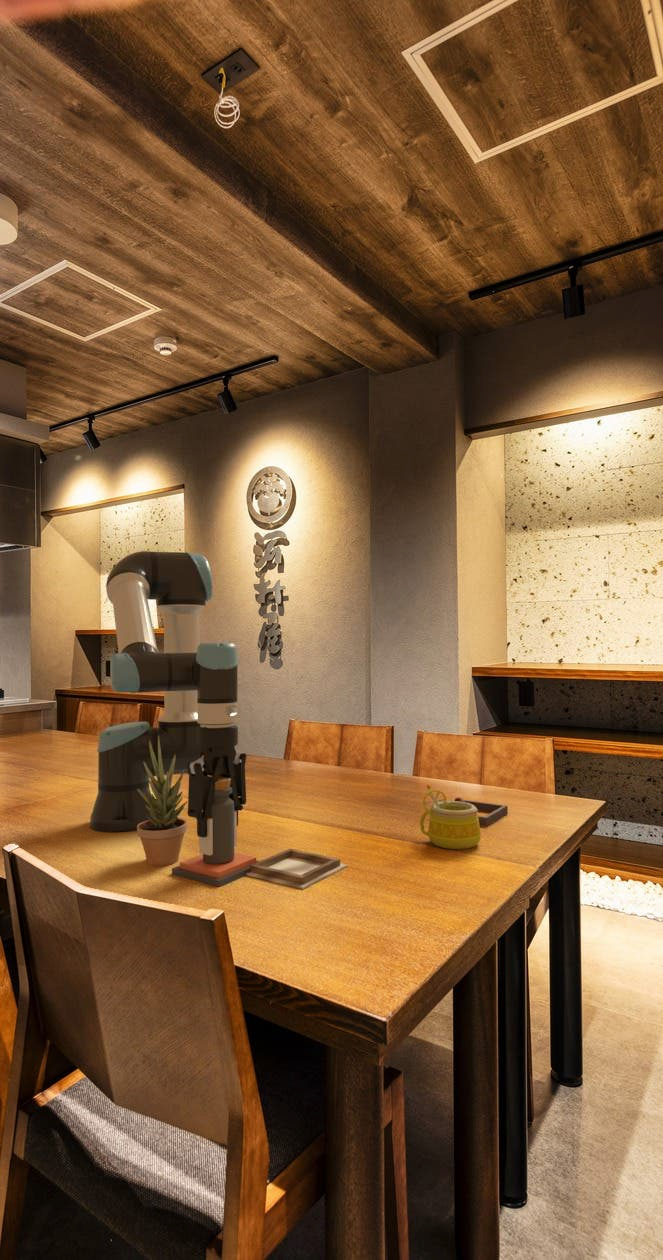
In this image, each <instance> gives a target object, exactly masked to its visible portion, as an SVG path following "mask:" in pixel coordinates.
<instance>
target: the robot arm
mask: <svg viewBox="0 0 663 1260" xmlns="http://www.w3.org/2000/svg"><path fill="white" fill-rule="evenodd" d="M213 585H214V584H213V576H212V569H211V567H210V564H209V561H208V559H207V558H206V557H205V556H204V555H203V554H201V553H192V552H189V551H188V552H187V551H186V552H184V551H183V552H181V551H178V552H177V551H175V552H173V551H172V552H171V551H148V550H146V551H145V550H141V551H136V552H134V553H131V554H128V555H126V556H125V557H123V558H122V559H121V560H119V561H117V563H115V565H114V566H113V567H112V569H111V570H110V572H109V574H108V576H107V580H106V583H105V588H106V596H107V598H108V600H109V602H110V603H111V604H112V608H113V615H114V616H113V617H114V625H115V633H116V634H115V635H116V640H117V650H118V653H116V654H113V655H112V656H111V657H110V670H109V671H110V672H109V673H110V687H111V690H112V691H113V692H115V693H131V694H136V693H139V694H140V693H155V692H164V693H163V695H164V696H163V697H164V699H163V701H164V712H163V714H162V715H160V716H159V717H158V720H157V727H151V725H150V723H149V722H148V721H134V722H133V721H131V722H128V723H121V724H115V725H113V726H109V727H106V728H104V729H102V730H101V731H100V732H99V734H98V742H97V743H98V744H97V749H96V752H97V753H98V756H97V757H98V763H97V764H98V765H97V766H98V769H97V770H98V771H97V772H98V773H97V776H98V777H97V789H98V790H97V795H96V798H95V801H94V805H93V808H92V812H91V813H90V818H89V820H90V821H89V822H90V823H89V825H90V828H92V829H93V830H95V831H101V832H110V833H111V832H113V833H114V832H127V831H128V832H129V831H135V830H136V831H137V825H138V824H140V823H142V822H145V821H148V820H149V818H148V816H149V817H151V818H152V816H151V814H150V811H149V810H148V809H147V808H146V805H147V806H148V807H149V808H150V805H149V804H148V803H147V802H146V801H145V800H144V798H143V797H142V796H141V795H140V793H139V792H138V789H139V790H140V791H141V792H142V793H143V792H145V793H146V794H147V795H149V796H151V797H152V793H151V789H150V788H151V787H150V783H149V780H150V778H149V776H148V774H147V772H146V769H145V766H144V762H145V764H146V765H147V767H148V769H149V770H150V772H151V773H152V775H153V776H154V777H156V774H155V770H154V767H153V763H152V758H151V753H150V747H149V741H150V743H151V746H152V749H153V752H154V755H155V758H156V761H157V764H158V768H159V763H158V735H159V740H160V749H161V759H162V764H163V771H164V776H167V772H168V771H169V768H170V766H171V763H172V760H173V758H174V755H175V765H174V771H173V776H174V775H181V774H182V772H183V770H184V774H183V775H185V774H186V775H188V793H187V795H188V797H187V798H188V799H187V801H188V802H187V815H188V817H190V818H195V819H196V835H197V837H198V852H199V854H200V855H201V854H205V855H213V819H212V818H209V815H210V810H211V804H212V799H213V794H214V789H215V782H217V781H218V779H219V776H221V777H228V778H231V782H230V787H232V793H231V794H229V798H230V799H232V800H233V801H234V847H237V846H238V830H237V829H238V828H237V827H238V826H239V811H242V810H243V809H244V805H246V804H247V788H246V786H247V785H246V784H247V783H246V762H247V753H243V752H238V751H237V749H236V748H235V747H236V746H237V745H238V743H239V727H238V726H237V725H236V724H237V723H238V664H239V659H238V648H237V645H236V643H233V642H201V643H200V640H201V639H200V636H201V635H200V633H201V632H200V614H201V613H202V612H203V611H204V609H206V602H208V601H210V600H211V599H212V598H213V590H214V589H213ZM148 600H156V601H157V603H156V604H157V605H156V607H157V609H158V610H159V611H160V612H162V615H163V652H160V653H159V650H158V645H157V641H156V635H155V631H154V626H153V620H152V616H151V610H150V606H149V601H148ZM143 761H144V762H143ZM230 787H229V788H230ZM143 794H144V793H143ZM149 801H150V800H149ZM150 802H151V801H150ZM151 803H152V802H151ZM152 804H153V803H152ZM152 819H153V818H152Z"/></svg>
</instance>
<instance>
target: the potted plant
mask: <svg viewBox="0 0 663 1260" xmlns="http://www.w3.org/2000/svg"><path fill="white" fill-rule="evenodd" d="M149 747H150V753H151V758H152V763H153V767H154V770H155V774H156V776H153V775H152V773H151V772H150V770H149V769H148V767H147V765H146V764H145V762H144V761H143V762H144V766H145V769H146V772H147V774H148V776H149V787H150V788H151V789H150V790H151V791H152V793H151V795H152V797H151V796H149V795H147V794H146V793H145V792H143V793H144V794H143V793H142V792H141V791H140V790H139V789H138V792H139V793H140V795H141V796H142V797H143V798H144V800H145V801H146V802H147V803H148V804H149V805H150V808H149V807H148V806H147V805H146V808H147V809H148V810H149V811H150V814H151V816H152V818H153V819H152V818H151V817H149V816H148V818H149V820H148V821H145V822H142V823H140V824H138V825H137V829H136V832H137V836H138V837H140V841H141V844H142V849H143V851H144V854H145V858H146V862H147V864H148V865H150V866H152V867H153V866H154V867H162V866H168V865H173V864H175V863H177V862H178V861H179V857H180V853H181V849H182V844H183V840H184V838H185V837H184V836H185V833H186V832H187V831H188V822H187V820H186V819H184V818H182V817H181V818H180V817H178V816H179V815H181V812H182V811H183V810H184V809H185V807H186V804H188V800H187V801H185V802H184V803H183V804H181V805H180V806H179V807H178V805H179V804H180V803H181V802H182V801H183V797H182V795H183V791H181V792H180V793H179V791H180V789H181V785H182V784H181V782H182V779H183V777H184V775H185V774H184V770H183V772H182V774H180V776H179V778H178V779H177V781H176V783H175V784H174V785H172V781H173V776H174V775H173V771H174V765H175V755H174V758H173V760H172V763H171V766H170V768H169V771H168V772H167V775H166V777H165V775H164V771H163V764H162V759H161V749H160V740H159V735H158V763H159V768H158V764H157V761H156V758H155V755H154V752H153V749H152V746H151V743H150V741H149ZM155 777H156V778H155ZM149 800H150V801H151V802H152V803H153V804H152V803H151V802H150V801H149ZM177 807H178V808H177Z"/></svg>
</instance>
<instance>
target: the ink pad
mask: <svg viewBox="0 0 663 1260" xmlns="http://www.w3.org/2000/svg"><path fill="white" fill-rule="evenodd" d="M259 861H260V860H257V856H252V855H248V854H244V853H239V852H236V851H234V859H233V860H232V861H230V862H227V863H222V864H210V863H206V862H204V861H203V854H201V853H200V854H199V855H196V856H194V857H191V858H188V859H185V860H182V861H180V862H179V865H178V866H177V865H176V866H174V867H172V868H171V874H172V875H175V876H179V877H182V878H186V879H189V880H193V881H197V882H201V883H204V884H209V885H211V886H215V887H220V888H221V887H223V886H224V885H228V884H230V883H231V882H234V881H235V880H239V879H241V878H243V877H244V876H245V877H246V876H247V875H246V873H249V872H250V865H252V864H254V863H257V862H259Z"/></svg>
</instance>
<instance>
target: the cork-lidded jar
mask: <svg viewBox="0 0 663 1260" xmlns="http://www.w3.org/2000/svg"><path fill="white" fill-rule="evenodd" d="M230 782H231V778H228V777H221V776H219V779H218V781H217V782H215V789H214V794H213V799H212V804H211V810H210V815H209V818H212V819H213V855H205V854H203V861H204V862H206V863H210V864H222V863H227V862H230V861H232V860H233V859H234V852H235V846H234V801H233V800H232V799H230V798H229V794H231V793H232V787H230ZM229 787H230V788H229Z"/></svg>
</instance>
